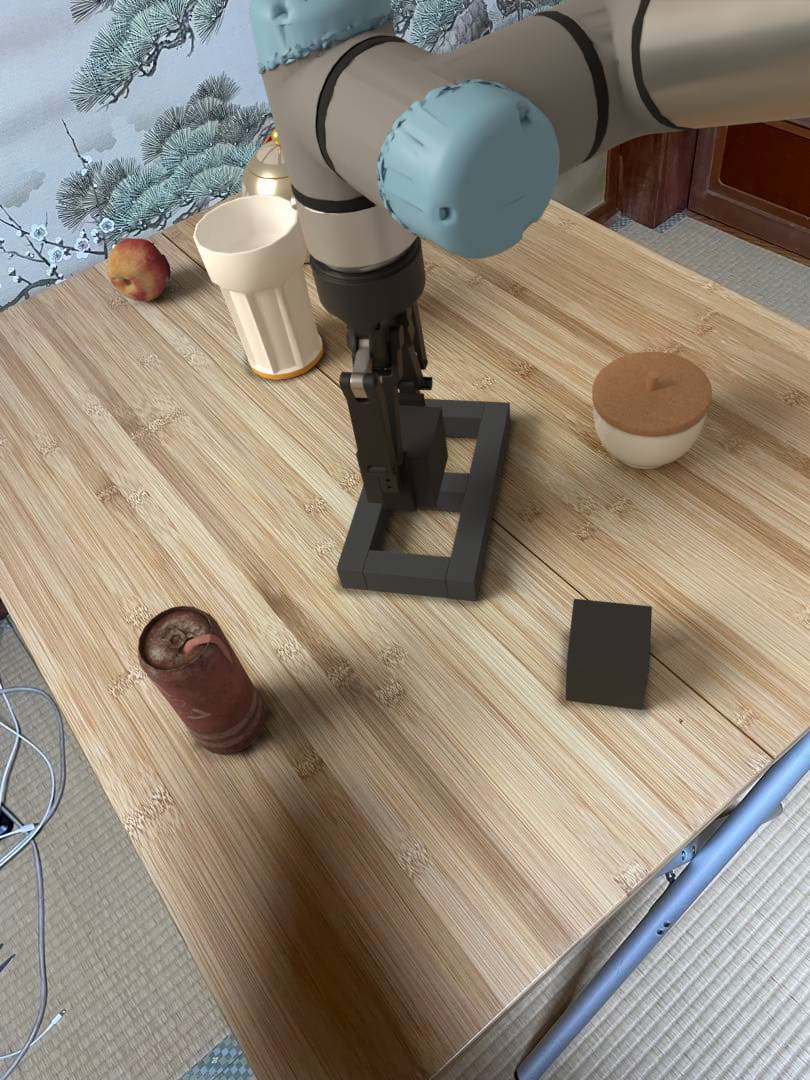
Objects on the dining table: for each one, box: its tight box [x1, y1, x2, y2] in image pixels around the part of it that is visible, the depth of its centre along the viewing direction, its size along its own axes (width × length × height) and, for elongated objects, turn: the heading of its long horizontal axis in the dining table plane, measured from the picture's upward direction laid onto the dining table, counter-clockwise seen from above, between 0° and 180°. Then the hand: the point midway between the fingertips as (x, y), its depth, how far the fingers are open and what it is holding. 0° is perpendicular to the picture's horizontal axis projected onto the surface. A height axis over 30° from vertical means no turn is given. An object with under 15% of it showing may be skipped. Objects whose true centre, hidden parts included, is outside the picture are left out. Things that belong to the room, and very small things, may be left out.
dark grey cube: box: [355, 405, 449, 508], centre depth 71 cm, size 6×6×6 cm
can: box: [137, 605, 267, 756], centre depth 65 cm, size 6×6×14 cm
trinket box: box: [591, 351, 713, 470], centre depth 80 cm, size 11×11×9 cm
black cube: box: [565, 598, 653, 711], centre depth 66 cm, size 6×6×6 cm
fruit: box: [106, 238, 172, 302], centre depth 109 cm, size 8×8×8 cm
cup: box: [192, 194, 324, 381], centre depth 93 cm, size 11×11×17 cm
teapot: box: [240, 127, 310, 264], centre depth 107 cm, size 18×14×16 cm
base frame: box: [336, 398, 512, 602], centre depth 82 cm, size 13×23×3 cm, turn 168°
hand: (408, 477), depth 73 cm, fingers closed on dark grey cube, 6 cm apart
